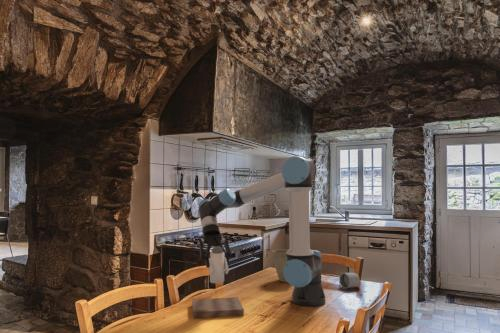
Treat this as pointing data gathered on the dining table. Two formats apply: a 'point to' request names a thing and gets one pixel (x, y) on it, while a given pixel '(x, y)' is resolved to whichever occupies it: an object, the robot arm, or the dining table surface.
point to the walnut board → (217, 307)
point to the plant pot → (280, 262)
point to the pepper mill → (217, 265)
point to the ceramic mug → (349, 280)
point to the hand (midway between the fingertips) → (219, 272)
